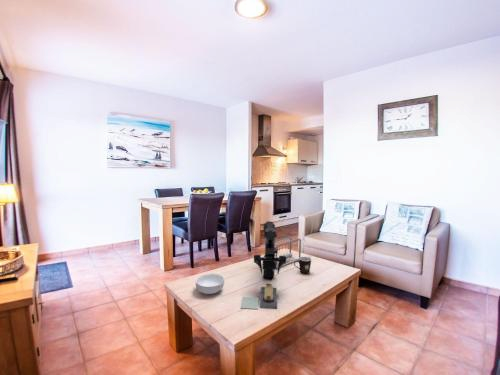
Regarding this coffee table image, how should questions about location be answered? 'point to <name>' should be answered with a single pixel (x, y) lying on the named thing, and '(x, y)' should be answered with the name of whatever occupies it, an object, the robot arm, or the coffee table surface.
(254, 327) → the coffee table surface
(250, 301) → the bench mat
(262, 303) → the plane body
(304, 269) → the coffee mug
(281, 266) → the newton's cradle
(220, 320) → the coffee table surface
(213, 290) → the cereal bowl
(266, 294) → the lever cap
